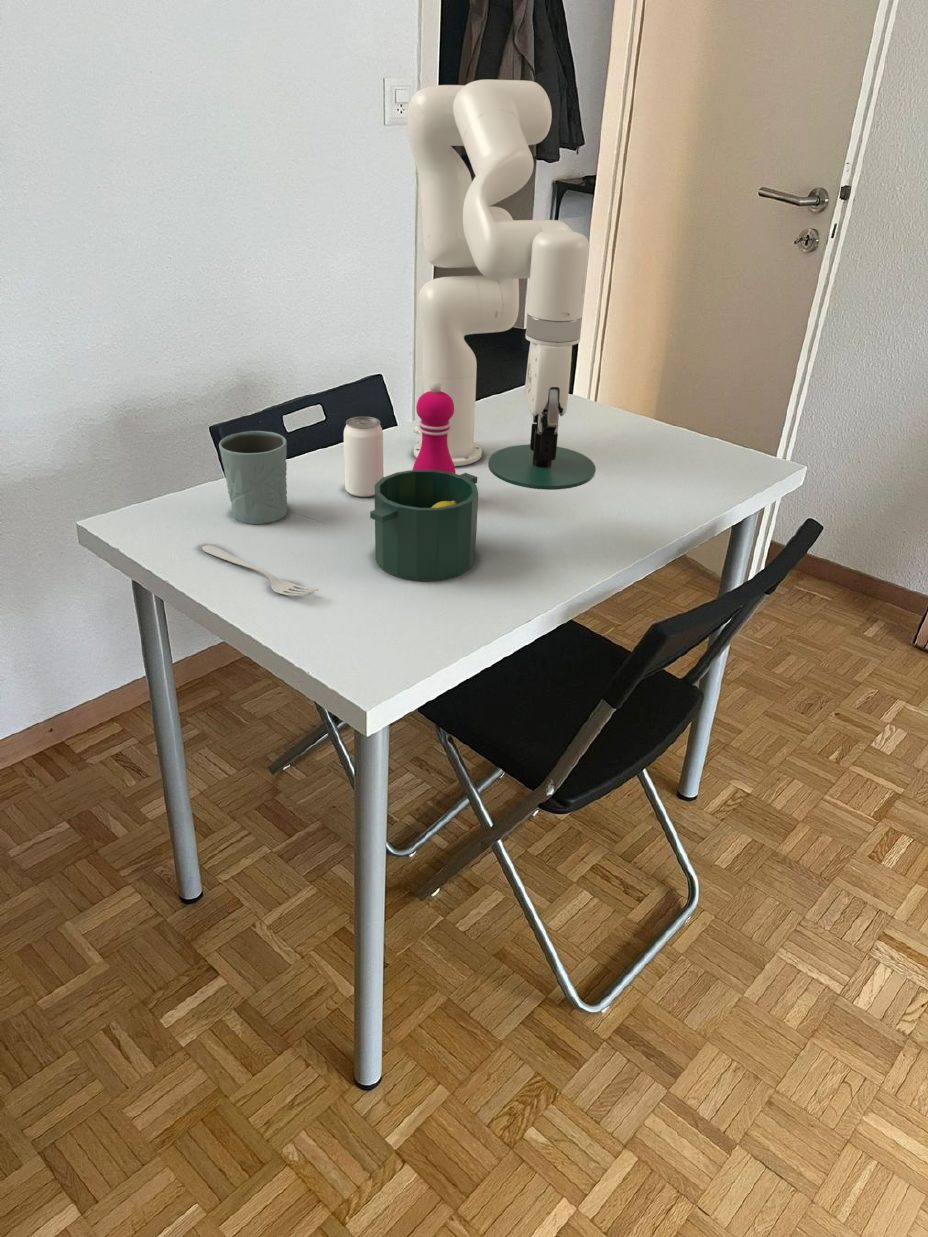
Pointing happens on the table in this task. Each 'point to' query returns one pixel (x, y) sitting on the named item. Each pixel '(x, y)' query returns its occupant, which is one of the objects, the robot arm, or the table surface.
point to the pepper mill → (434, 430)
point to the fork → (276, 583)
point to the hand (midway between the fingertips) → (542, 453)
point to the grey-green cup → (256, 475)
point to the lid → (541, 468)
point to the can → (363, 455)
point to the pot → (425, 524)
